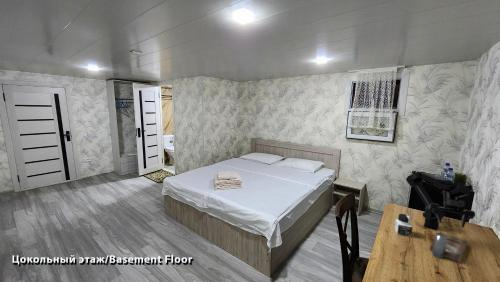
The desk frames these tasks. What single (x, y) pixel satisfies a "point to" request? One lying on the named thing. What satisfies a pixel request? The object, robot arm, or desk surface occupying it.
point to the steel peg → (439, 245)
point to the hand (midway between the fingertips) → (451, 225)
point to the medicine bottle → (403, 225)
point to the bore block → (453, 248)
